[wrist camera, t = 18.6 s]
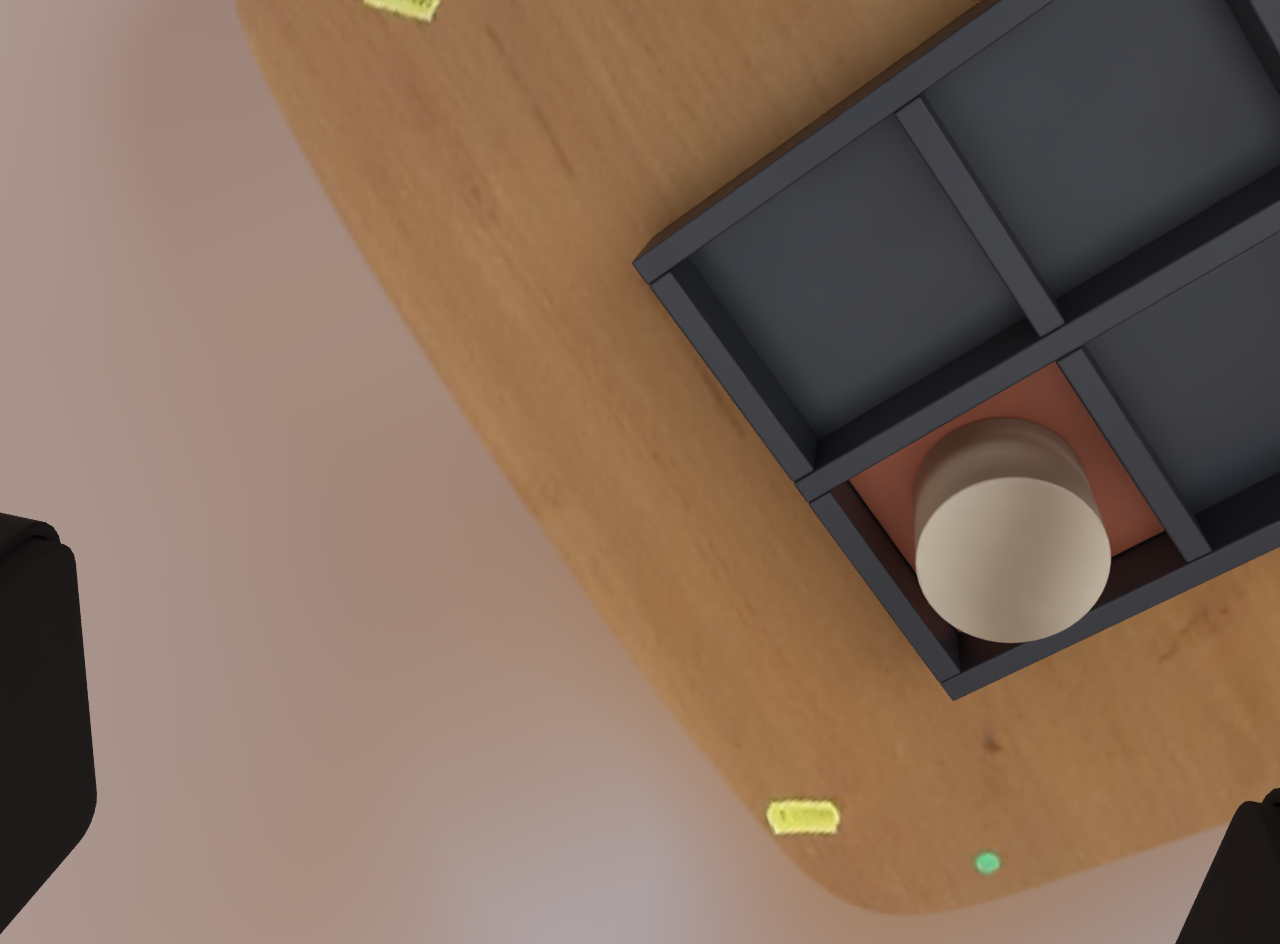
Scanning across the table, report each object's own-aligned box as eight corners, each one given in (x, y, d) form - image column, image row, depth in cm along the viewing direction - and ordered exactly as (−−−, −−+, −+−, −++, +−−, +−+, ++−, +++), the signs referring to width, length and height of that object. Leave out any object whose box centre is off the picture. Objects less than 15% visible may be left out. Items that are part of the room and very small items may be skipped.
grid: (651, 238, 33) (630, 263, 30) (1180, -143, 27) (1209, -151, 25) (948, 648, 36) (953, 702, 34) (1477, 389, 30) (1529, 430, 28)
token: (895, 548, 34) (895, 620, 31) (936, 400, 32) (942, 458, 29) (1058, 585, 34) (1078, 662, 30) (1110, 436, 32) (1138, 501, 28)
